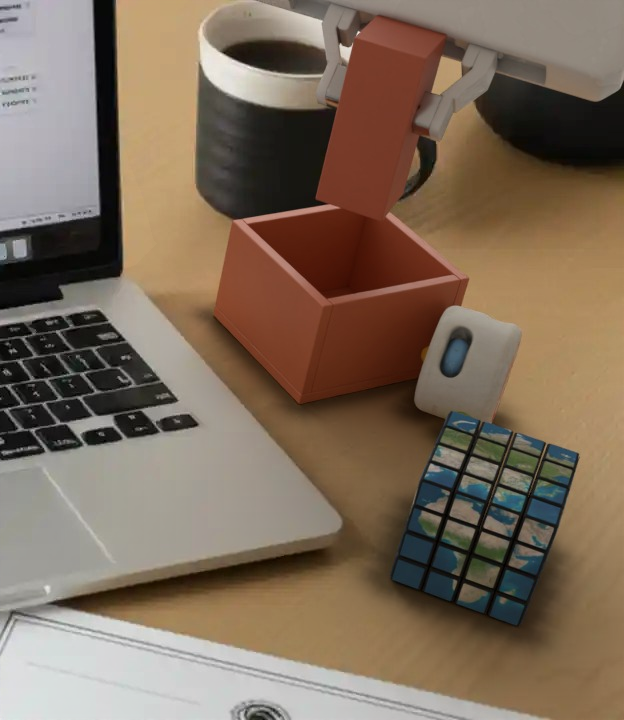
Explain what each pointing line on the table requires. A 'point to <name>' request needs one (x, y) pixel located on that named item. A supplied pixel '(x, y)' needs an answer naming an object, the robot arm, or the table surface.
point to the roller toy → (467, 365)
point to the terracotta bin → (334, 298)
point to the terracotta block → (379, 116)
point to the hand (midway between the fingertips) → (377, 119)
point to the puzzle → (501, 522)
